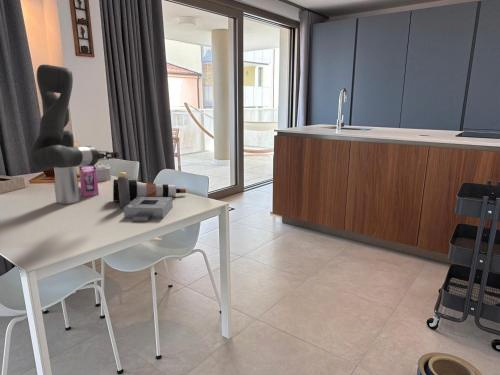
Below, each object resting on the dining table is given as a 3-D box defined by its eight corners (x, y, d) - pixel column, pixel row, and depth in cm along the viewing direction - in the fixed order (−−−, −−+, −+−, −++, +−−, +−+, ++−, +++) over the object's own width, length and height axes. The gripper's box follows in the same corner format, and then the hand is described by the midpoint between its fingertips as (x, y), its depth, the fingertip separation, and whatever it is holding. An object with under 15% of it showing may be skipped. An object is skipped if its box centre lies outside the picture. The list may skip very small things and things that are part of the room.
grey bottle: (118, 208, 156) (115, 173, 152) (122, 206, 160) (119, 171, 156) (128, 209, 156) (125, 173, 152) (131, 206, 160) (129, 171, 156)
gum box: (99, 195, 177) (96, 169, 174) (82, 197, 174) (79, 170, 170) (96, 185, 198) (93, 161, 194) (80, 186, 194) (77, 162, 191)
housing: (120, 221, 141) (119, 210, 139) (140, 203, 164) (140, 194, 163) (160, 221, 140) (159, 211, 139) (174, 204, 163) (174, 194, 162)
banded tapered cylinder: (185, 205, 177) (188, 190, 171) (113, 205, 164) (113, 189, 158) (182, 191, 185) (185, 177, 179) (113, 191, 172) (113, 175, 165)
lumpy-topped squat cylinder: (93, 182, 206) (92, 167, 203) (91, 177, 216) (89, 164, 214) (112, 180, 211) (111, 165, 209) (108, 176, 222) (107, 162, 219)
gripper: (99, 145, 128) (123, 145, 143) (65, 146, 131) (92, 146, 146) (100, 166, 129) (124, 164, 144) (66, 166, 131) (94, 164, 147)
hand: (108, 155), depth 145 cm, fingers open, 8 cm apart
